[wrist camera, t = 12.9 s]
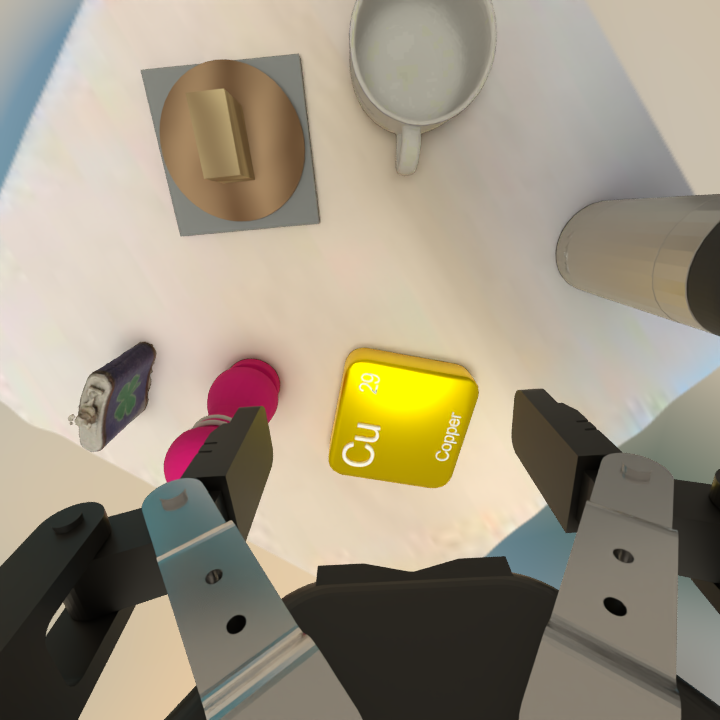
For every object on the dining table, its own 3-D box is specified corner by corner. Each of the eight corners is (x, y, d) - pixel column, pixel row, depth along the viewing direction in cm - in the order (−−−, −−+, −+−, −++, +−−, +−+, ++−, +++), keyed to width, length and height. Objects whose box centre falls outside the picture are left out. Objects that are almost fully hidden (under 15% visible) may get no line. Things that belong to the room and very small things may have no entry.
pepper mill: (285, 356, 45) (235, 459, 26) (283, 412, 47) (237, 542, 28) (221, 351, 44) (125, 451, 26) (223, 407, 47) (136, 536, 28)
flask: (146, 413, 47) (89, 467, 37) (121, 406, 47) (57, 458, 37) (159, 345, 44) (101, 383, 34) (133, 337, 44) (66, 373, 34)
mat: (300, 58, 35) (298, 53, 34) (319, 223, 40) (319, 223, 39) (146, 73, 35) (140, 69, 34) (184, 235, 40) (180, 236, 39)
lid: (293, 55, 34) (281, 24, 28) (314, 214, 38) (307, 213, 33) (147, 72, 34) (106, 44, 28) (185, 227, 39) (156, 230, 33)
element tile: (440, 470, 51) (448, 494, 47) (327, 452, 50) (325, 476, 45) (473, 365, 46) (486, 382, 41) (348, 343, 45) (348, 357, 40)
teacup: (368, -16, 33) (372, -84, 26) (486, 26, 34) (523, -27, 27) (329, 160, 38) (323, 146, 30) (434, 192, 39) (454, 187, 31)
